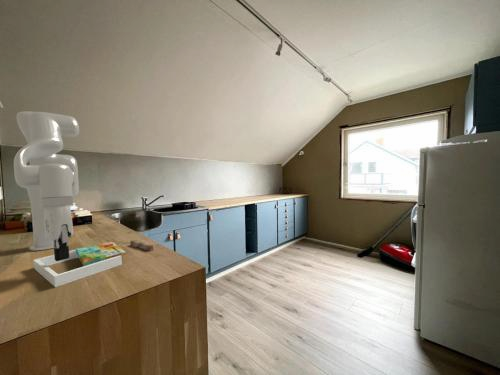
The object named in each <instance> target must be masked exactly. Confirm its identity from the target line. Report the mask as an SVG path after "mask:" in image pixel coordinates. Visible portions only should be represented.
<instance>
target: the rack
mask: <svg viewBox="0 0 500 375" xmlns="http://www.w3.org/2000/svg"><path fill="white" fill-rule="evenodd" d="M75 259H79V257H78V255H77V254H76V249H72V250H69V258H68V259H64V260H60V261H56V260H55V257H54V254H52V255H48V256H44V257H39V258H35V259H33V268H34V270H35V271H36V272H37V273H39V274H40V275H41V276H42V277H43V278H44V279H45V280H47V282H48V283H50V284H51V285H52V286H53V287H54V288H57V287H60V286H63V285H66V284H69V283H72V282H74V281H78V280H80V279H83V278H87V277H90V276H92V275H96V274H98V273H99V274H100V273H101V272H105V271H108V270H110V269H112V268H116V267H118V266H121V265H123V260H122V257H121V256H116V257H113V258H110V259H107V260H103V261H100V262H97V263H93V264H90V265H87V266H81V267H78V268H74V269H71V270H68V271H65V272H62V273H57V272H56V271H55V270H53V269H52V268H50V267H49V266H52V265H56V264H59V263H63V262H66V261H70V260H75Z"/></svg>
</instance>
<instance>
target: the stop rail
mask: <svg viewBox="0 0 500 375" xmlns="http://www.w3.org/2000/svg"><path fill="white" fill-rule="evenodd" d="M129 243H130V244H129V245H130V246H132V247H135V248H138V247H139V249H141V250H145V251H149V252H152V251H154V245H152V244H149V243H145V242H142V241H138V240H134V239H131V240H130V242H129Z"/></svg>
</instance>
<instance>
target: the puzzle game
mask: <svg viewBox="0 0 500 375" xmlns="http://www.w3.org/2000/svg"><path fill="white" fill-rule="evenodd" d="M75 250H76V254H77V255H78V259H79V261H80V262H81V264H82V267H84V266H87V265H90V264H93V263H97V262H100V261H103V260H107V259H110V258H113V257H116V256H121V257H123V258H124V257H126V256H127V252H126V251H125V250H123V249H122V248H121V247H120V246H119V245H118V244H117V243H115V242H114V241H107V242H101V243H98V244H94V245H93V244H92V245H88V246H83V247H78V248H76V249H75Z"/></svg>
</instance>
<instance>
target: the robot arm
mask: <svg viewBox="0 0 500 375" xmlns="http://www.w3.org/2000/svg"><path fill="white" fill-rule="evenodd" d="M16 122H17V125H18V128H19V130H20V131H21V133H22V134H23V136H24V138H25V141H26V142H27V144H26V145H24V146H22V147H21V148H20V149H18V151H17V153H16V154H15V156H14V159H13V171H14V172H13V173H14V181H15V183H16V184H17V186H19V187H20V188H22V189H26V192H27V195H28V198H29V202H30V208H31V209H30V210H31V211H30V212H31V222H32V232H33V233H32V234H33V245H30V246H29V247H28V249H29V251H35V252H36V251H44V250H50V249H53V255H54V257H55V260H56V261H60V260H64V259H68V258H69V251H70V248H69V238H71V237H73V235H74V226H73V216H72V210H71V207H74V197H76V196H77V195H78V194H79V192H80V186H79V185H80V184H79V170H78V169H79V168H78V160H77V159H76V158H75V157H74V156H73V155H70V154H57V153H59V152H61V151H63V149H64V142H63V139H62V138H63V137H69V138H76V137H78V136H79V134H80V126H79V122H78V121H77V119H76V118H75V117H74V116H71V115H66V114H60V113H59V114H58V113H53V112H48V111H47V112H46V111H45V112H44V111H30V110H29V111H28V110H26V111H25V110H24V111H19V112H17V113H16ZM28 163H29V165H28Z"/></svg>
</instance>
